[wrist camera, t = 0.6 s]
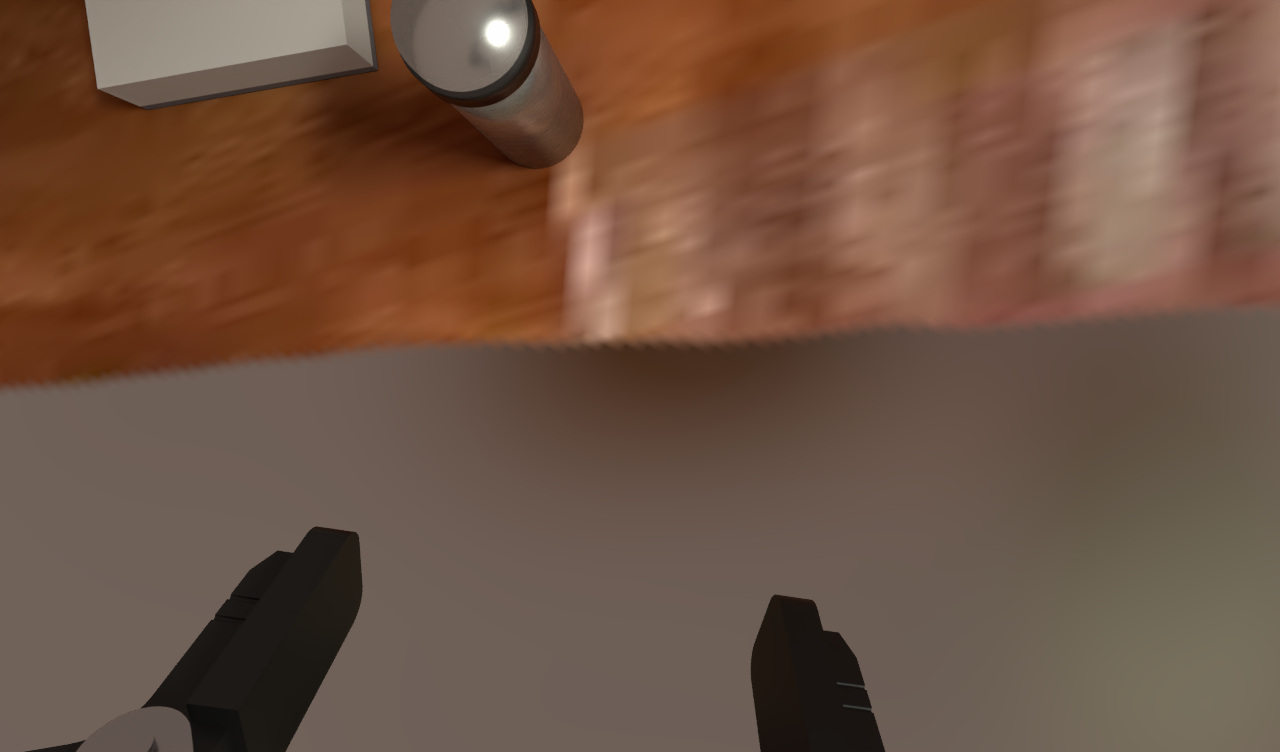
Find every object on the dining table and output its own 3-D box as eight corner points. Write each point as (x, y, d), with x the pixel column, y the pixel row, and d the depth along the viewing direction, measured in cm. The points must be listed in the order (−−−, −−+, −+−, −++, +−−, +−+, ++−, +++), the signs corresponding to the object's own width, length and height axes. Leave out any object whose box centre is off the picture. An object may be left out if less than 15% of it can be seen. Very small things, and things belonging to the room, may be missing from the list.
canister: (514, 54, 34) (421, -84, 23) (602, 94, 33) (551, -27, 23) (474, 147, 34) (364, 55, 23) (560, 187, 34) (490, 112, 23)
